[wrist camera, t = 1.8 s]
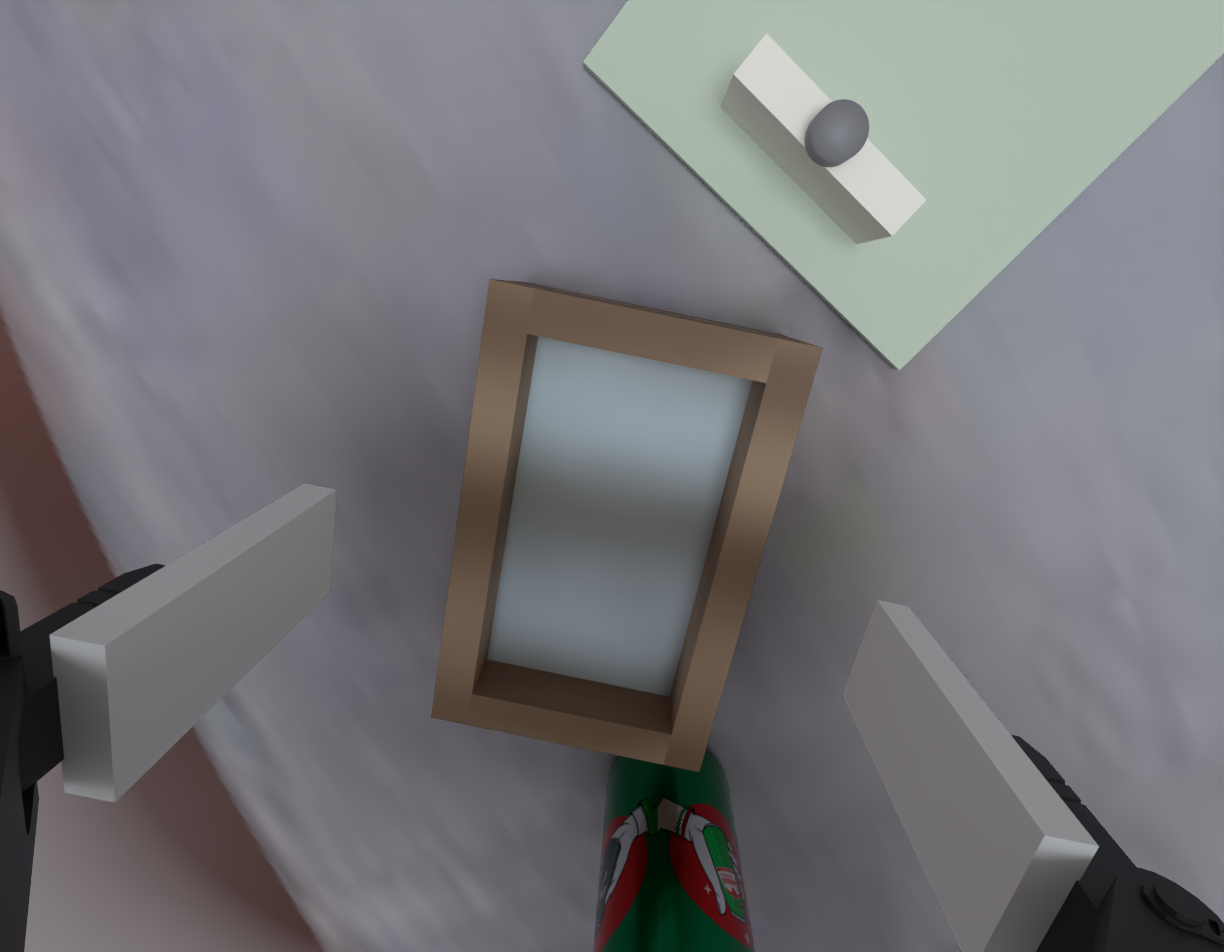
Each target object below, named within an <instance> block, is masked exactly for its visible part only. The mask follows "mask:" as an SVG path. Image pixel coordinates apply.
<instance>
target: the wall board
mask: <svg viewBox="0 0 1224 952" xmlns="http://www.w3.org/2000/svg"><path fill="white" fill-rule="evenodd" d="M1223 53H1224V0H628V1H627V3H626V4H625V5H624V7H623V8H622V9H621V11H620V12H619V14H618V15H617V16H616V18H615V19H614V20H613V22H612V23H611V24H610V26H609V27H608V28H607V30H606V31H605V33H604V34H603V35H602V37H601V38H600V39H599V41H598V42H597V43H596V45H595V46H594V47H593V49H592V50H591V52H590V53H589V54H588V56H587V57H586V58H585V60H584V61H583V63H584V67H585V68H586V69H587V70H588V71H589V72H590V73H591V74H592V75H593V76H594V77H595V78H596V79H597V80H598V81H599V82H600V83H601V84H602V85H603V86H604V87H605V88H606V89H607V90H608V91H609V92H610V93H611V94H612V95H613V96H614V97H616V98H617V99H618V100H619V101H620V102H621V103H622V104H623V105H624V106H625V107H626V108H627V109H628V110H629V111H630V112H631V113H632V114H633V115H634V116H635V117H636V118H637V119H638V120H639V121H640V122H641V123H642V124H643V125H644V126H645V127H646V128H647V129H648V130H649V131H650V132H651V133H652V134H654V135H655V136H656V137H657V138H658V139H659V140H660V141H661V142H662V143H663V144H664V145H665V146H666V147H667V148H668V149H669V150H670V151H671V152H672V153H673V154H674V155H675V156H676V157H677V158H678V159H679V160H680V161H681V162H682V163H683V164H684V165H685V166H686V167H687V168H688V169H689V170H690V171H691V172H693V173H694V174H695V175H696V176H697V177H698V178H699V179H700V180H701V181H702V182H703V183H704V184H705V185H706V186H707V187H708V188H709V189H710V190H711V191H712V192H713V193H714V194H715V195H716V196H717V197H718V198H719V199H720V200H721V201H722V202H723V203H724V204H725V205H726V206H727V207H728V208H729V209H730V210H732V211H733V212H734V213H735V214H736V215H737V216H738V217H739V218H740V219H741V220H742V221H743V222H744V223H745V224H746V225H747V226H748V227H749V228H750V229H751V230H752V231H753V232H754V233H755V234H756V235H757V236H758V237H759V238H760V239H761V240H762V241H763V242H764V243H765V244H766V245H767V246H768V247H770V248H771V249H772V250H773V251H774V252H775V253H776V254H777V255H778V256H779V257H780V258H781V259H782V260H783V261H784V262H785V263H786V264H787V265H788V266H789V267H790V268H791V269H792V270H793V271H794V272H795V273H796V274H797V275H798V276H799V277H800V278H801V279H802V280H803V281H804V282H805V283H806V284H807V285H809V286H810V287H811V288H812V289H813V290H814V291H815V292H816V293H817V294H818V295H819V296H820V297H821V298H822V299H823V300H824V301H825V302H826V303H827V304H828V305H829V306H830V307H831V308H832V309H833V310H834V311H835V312H836V313H837V314H838V315H839V316H840V317H841V318H842V319H843V320H844V321H845V322H846V323H848V324H849V325H850V326H851V327H852V328H853V329H854V330H855V331H856V332H857V333H858V334H859V335H860V336H861V337H862V338H863V339H864V340H865V341H866V342H867V343H868V344H869V345H870V346H871V347H872V348H873V349H874V350H875V351H876V352H877V353H878V354H879V355H880V356H881V357H882V358H883V359H884V360H886V361H887V362H888V363H889V364H890V365H891V366H892V367H893V368H894V369H897V370H900V369H901V368H902V367H903V366H904V365H905V364H907V363H908V362H909V361H910V360H911V359H912V358H913V357H914V356H915V355H916V354H917V353H918V352H919V351H920V350H921V349H922V348H923V347H924V346H925V345H926V344H927V343H928V342H929V341H930V340H931V339H932V338H933V337H934V336H935V335H936V334H937V333H938V332H939V331H940V330H941V329H942V328H943V327H944V326H945V325H946V324H947V323H948V322H949V321H950V320H951V319H953V318H954V317H955V316H956V315H957V314H958V313H959V312H960V311H961V310H962V309H963V308H964V307H965V306H966V305H967V304H968V303H969V302H970V301H971V300H972V299H973V298H974V297H975V296H976V295H977V294H978V293H979V292H980V291H981V290H982V289H983V288H984V287H985V286H986V285H987V284H988V283H989V282H990V281H991V280H992V279H993V278H994V277H995V276H996V275H998V274H999V273H1000V272H1001V271H1002V270H1003V269H1004V268H1005V267H1006V266H1007V265H1008V264H1009V263H1010V262H1011V261H1012V260H1013V259H1014V258H1015V257H1016V256H1017V255H1018V254H1019V253H1020V252H1021V251H1022V250H1023V249H1024V248H1025V247H1026V246H1027V245H1028V244H1029V243H1030V242H1031V241H1032V240H1033V239H1034V238H1035V237H1036V236H1037V235H1038V234H1039V233H1040V232H1041V231H1042V230H1044V229H1045V228H1046V227H1047V226H1048V225H1049V224H1050V223H1051V222H1052V221H1053V220H1054V219H1055V218H1056V217H1057V216H1058V215H1059V214H1060V213H1061V212H1062V211H1063V210H1064V209H1065V208H1066V207H1067V206H1068V205H1069V204H1070V203H1071V202H1072V201H1073V200H1074V199H1075V198H1076V197H1077V196H1078V195H1079V194H1080V193H1081V192H1082V191H1083V190H1084V189H1085V188H1086V187H1087V186H1089V185H1090V184H1091V183H1092V182H1093V181H1094V180H1095V179H1096V178H1097V177H1098V176H1099V175H1100V174H1101V173H1102V172H1103V171H1104V170H1105V169H1106V168H1107V167H1108V166H1109V165H1110V164H1111V163H1112V162H1113V161H1114V160H1115V159H1116V158H1117V157H1118V156H1119V155H1120V154H1121V153H1122V152H1123V151H1124V150H1125V149H1126V148H1127V147H1128V146H1129V145H1130V144H1131V143H1132V142H1133V141H1135V140H1136V139H1137V138H1138V137H1139V136H1140V135H1141V134H1142V133H1143V132H1144V131H1145V130H1146V129H1147V128H1148V127H1149V126H1150V125H1151V124H1152V123H1153V122H1154V121H1155V120H1156V119H1157V118H1158V117H1159V116H1160V115H1161V114H1162V113H1163V112H1164V111H1165V110H1166V109H1167V108H1168V107H1169V106H1170V105H1171V104H1172V103H1173V102H1174V101H1175V100H1176V99H1177V98H1178V97H1179V96H1181V95H1182V94H1183V93H1184V92H1185V91H1186V90H1187V89H1188V88H1189V87H1190V86H1191V85H1192V84H1193V83H1194V82H1195V81H1196V80H1197V79H1198V78H1199V77H1200V76H1201V75H1202V74H1203V73H1204V72H1205V71H1206V70H1207V69H1208V68H1209V67H1210V66H1211V65H1212V64H1213V63H1214V62H1215V61H1216V60H1217V59H1218V58H1219V57H1220V56H1221V55H1222V54H1223Z"/></svg>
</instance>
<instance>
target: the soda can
mask: <svg viewBox="0 0 1224 952" xmlns="http://www.w3.org/2000/svg"><path fill="white" fill-rule="evenodd" d="M593 952H755V948H754V942H753V936H752V930H751V924H750V918H749V911H748V905H747V899H746V893H745V887H744V881H743V874H742V868H741V862H740V856H739V850H738V844H737V838H736V831H735V825H734V819H733V813H732V807H731V801H730V794H729V788H728V782H727V779H726V775H725V773H724V771H723V769H722V767H721V766H720V765H719V763H718V762H717V761H716V760H715V759H714V758H713V757H712V756H711V755H710V754H709V753H707V752H706V751H705V754H704V758H703V761H702V764H701V768H700V771H699V772H697V771H692V770H687V769H682V768H677V767H672V766H667V765H662V764H657V763H653V762H648V761H643V760H638V759H633V758H628V757H623V756H621V757H620V758H619V759H618V760H617V761H616V763H615V764H614V766H613V767H612V770H611V772H610V774H609V778H608V782H607V794H606V806H605V818H604V830H603V842H602V854H601V866H600V878H599V890H598V902H597V914H596V926H595V938H594V950H593Z"/></svg>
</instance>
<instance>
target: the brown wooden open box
mask: <svg viewBox="0 0 1224 952" xmlns="http://www.w3.org/2000/svg"><path fill="white" fill-rule="evenodd" d="M821 352H822V348H821V347H818V346H815V345H812V344H809V343H806V342H803V341H799V340H796V339H793V338H790V337H787V336H784V335H779V334H774V333H769V332H764V331H760V330H755V329H750V328H745V327H740V326H735V325H731V324H726V323H721V322H716V321H711V320H706V319H701V318H697V317H692V316H687V315H682V314H677V313H672V312H667V311H663V310H658V309H653V308H648V307H643V306H638V305H633V304H629V303H624V302H619V301H614V300H609V299H604V298H599V297H595V296H590V295H585V294H580V293H575V292H570V291H565V290H561V289H556V288H551V287H546V286H541V285H536V284H531V283H527V282H517V281H504V280H492V279H490V281H489V288H488V296H487V303H486V311H485V318H484V326H483V333H482V340H481V348H480V355H479V363H478V370H477V378H476V385H475V393H474V400H473V408H472V415H471V423H470V430H469V438H468V445H467V453H466V460H465V468H464V475H463V483H462V490H461V498H460V505H459V513H458V520H457V528H456V535H455V543H454V550H453V558H452V565H451V573H450V580H449V588H448V595H447V603H446V610H445V618H444V625H443V633H442V640H441V648H440V655H439V662H438V670H437V677H436V685H435V692H434V700H433V707H432V715H431V717H432V718H437V719H442V720H447V721H452V722H456V723H461V724H466V725H471V726H476V727H481V728H486V729H491V730H496V731H501V732H505V733H510V734H515V735H520V736H525V737H530V738H535V739H540V740H545V741H550V742H554V743H559V744H564V745H569V746H574V747H579V748H584V749H589V750H594V751H599V752H604V753H608V754H613V755H618V756H623V757H628V758H633V759H638V760H643V761H648V762H653V763H657V764H662V765H667V766H672V767H677V768H682V769H687V770H692V771H697V772H699V771H700V768H701V764H702V761H703V758H704V754H705V751H706V747H707V744H708V740H709V737H710V734H711V730H712V727H713V723H714V720H715V716H716V713H717V709H718V706H719V703H720V699H721V696H722V692H723V689H724V685H725V682H726V678H727V675H728V672H729V668H730V665H731V661H732V658H733V654H734V651H735V648H736V644H737V641H738V637H739V634H740V630H741V627H742V623H743V620H744V617H745V613H746V610H747V606H748V603H749V599H750V596H751V592H752V589H753V586H754V582H755V579H756V575H757V572H758V568H759V565H760V562H761V558H762V555H763V551H764V548H765V544H766V541H767V537H768V534H769V531H770V527H771V524H772V520H773V517H774V513H775V510H776V506H777V503H778V500H779V496H780V493H781V489H782V486H783V482H784V479H785V476H786V472H787V469H788V465H789V462H790V458H791V455H792V451H793V448H794V445H795V441H796V438H797V434H798V431H799V427H800V424H801V421H802V417H803V414H804V410H805V407H806V403H807V400H808V396H809V393H810V390H811V386H812V383H813V379H814V376H815V372H816V369H817V365H818V362H819V359H820V355H821Z"/></svg>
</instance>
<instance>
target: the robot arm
mask: <svg viewBox="0 0 1224 952" xmlns="http://www.w3.org/2000/svg"><path fill="white" fill-rule="evenodd" d="M335 503H336V490H335V489H330V488H325V487H320V486H315V485H311V484H306V483H304V484H303V485H301V486H299V487H298V488H296V489H294V490H292V491H291V492H289V493H287V494H286V495H284V496H282V497H281V498H279V499H277V500H276V501H274V502H272V503H271V504H269V505H267V506H266V507H264V508H262V509H260V510H259V511H257V512H255V513H254V514H252V515H250V516H249V517H247V518H245V519H244V520H242V521H240V522H239V523H237V524H235V525H234V526H232V527H230V528H228V529H227V530H225V531H223V532H222V533H220V534H218V535H217V536H215V537H213V538H212V539H210V540H208V541H207V542H205V543H203V544H202V545H200V546H198V547H196V548H195V549H193V550H191V551H190V552H188V553H186V554H185V555H183V556H181V557H180V558H178V559H176V560H175V561H173V562H171V563H170V564H168V565H166V566H165V565H160V564H153V565H150V566H147V567H144V568H140V569H137V570H134V571H131V572H128V573H124V574H122V575H120V576H119V577H117V578H115V579H113V580H112V581H110V582H108V583H106V584H105V585H103V586H101V587H99V588H98V591H92V592H90V593H88V594H87V595H85V596H83V597H81V598H79V599H78V600H77V602H76V603H71V604H69V605H67V606H65V607H63V608H62V609H60V610H58V611H56V612H55V613H53V614H51V615H49V616H47V617H46V618H44V619H42V620H40V621H39V622H37V623H35V624H33V625H31V626H30V627H28V628H26V629H24V630H22V631H21V632H20V626H19V617H18V608H17V603H16V601H15V598H14V596H12V595H9V594H7V593H5V592H3V591H0V952H24V947H25V935H26V925H27V916H28V904H29V895H30V885H31V875H32V863H33V854H34V843H35V834H36V823H37V813H38V803H39V795H38V787H37V781H38V780H39V779H40V778H41V777H43V776H44V775H45V774H46V773H48V772H49V771H50V770H51V769H52V768H54V767H55V766H56V765H57V764H58V763H60V762H61V761H62V771H63V780H64V792H65V793H71V794H75V795H80V796H85V797H90V798H95V799H100V800H105V801H110V802H116V801H117V800H118V799H119V798H120V797H121V796H122V795H123V794H124V793H125V792H126V791H127V790H128V789H129V788H130V787H131V786H132V785H133V784H134V783H135V782H136V781H137V780H138V779H139V778H140V777H141V776H142V775H143V774H144V773H146V772H147V771H148V769H150V768H151V767H152V766H153V765H154V764H155V763H156V761H158V760H159V759H160V758H161V757H162V756H163V755H164V754H165V753H166V752H167V751H168V750H169V749H170V748H171V747H172V746H173V745H174V744H175V743H176V742H177V741H178V740H179V739H180V738H181V737H182V736H183V735H184V734H185V733H186V732H187V731H188V730H189V729H190V728H191V727H192V726H193V725H194V724H195V723H197V722H198V721H199V720H200V719H201V718H202V717H203V716H204V715H205V714H206V713H207V712H208V711H209V710H210V709H211V708H212V707H213V706H214V705H215V704H216V703H217V702H218V701H219V700H220V699H221V698H222V697H223V696H224V695H225V694H226V693H227V692H228V691H229V690H230V689H231V688H232V687H233V686H234V685H235V684H236V683H237V682H238V681H239V680H240V679H241V678H242V677H243V676H244V675H245V674H246V673H247V672H249V671H250V670H251V669H252V668H253V667H254V666H255V665H256V664H257V663H258V662H259V661H260V660H261V659H262V658H263V657H264V656H265V655H266V654H267V653H268V652H269V651H270V650H271V649H272V648H273V647H274V646H275V645H276V644H277V643H278V642H279V641H280V640H281V639H282V638H283V637H284V636H285V635H286V634H287V633H288V632H289V631H290V630H291V629H292V628H293V627H294V626H295V625H296V624H297V623H298V622H299V621H300V620H302V619H303V618H304V617H305V616H306V615H307V614H308V613H309V612H310V611H311V610H312V609H313V608H314V607H315V606H316V605H317V604H318V603H319V602H320V601H321V600H322V599H323V598H324V597H325V596H326V595H327V594H328V593H329V592H330V583H331V567H332V551H333V535H334V519H335ZM842 697H843V699H844V701H845V703H846V705H847V708H848V710H849V712H850V714H851V716H852V718H853V721H854V723H855V725H856V727H857V729H858V731H859V733H860V736H861V738H862V740H863V742H864V744H865V746H866V749H867V751H868V753H869V755H870V757H871V759H872V761H873V764H874V766H875V768H876V770H877V772H878V774H879V777H880V779H881V781H882V783H883V785H884V787H885V789H886V792H887V794H888V796H889V798H890V800H891V802H892V804H893V807H894V809H895V811H896V813H897V815H898V817H899V820H900V822H901V824H902V826H903V828H904V830H905V832H906V835H907V837H908V839H909V841H910V843H911V845H912V848H913V850H914V852H915V854H916V856H917V858H918V860H919V863H920V865H921V867H922V869H923V871H924V873H925V876H926V878H927V880H928V882H929V884H930V886H931V888H932V891H933V893H934V895H935V897H936V899H937V901H938V904H939V906H940V908H941V910H942V912H943V914H944V916H945V919H946V921H947V923H948V925H949V927H950V929H951V932H952V934H953V936H954V938H955V940H956V942H957V944H958V947H959V949H960V951H961V952H1224V923H1223V922H1222V921H1221V919H1220V918H1219V917H1218V916H1217V915H1216V914H1215V913H1214V912H1213V911H1212V910H1210V909H1209V908H1208V907H1207V906H1206V905H1205V904H1204V903H1203V902H1202V901H1200V900H1199V899H1198V898H1197V897H1195V896H1194V895H1192V894H1191V893H1190V892H1188V891H1187V890H1185V889H1184V888H1182V887H1181V886H1179V885H1178V884H1176V883H1175V882H1173V881H1171V880H1169V879H1167V878H1165V877H1163V876H1161V875H1159V874H1157V873H1155V872H1152V871H1148V870H1145V869H1141V868H1138V867H1136V866H1135V865H1134V864H1133V862H1132V861H1131V860H1130V859H1129V858H1128V856H1127V855H1126V854H1125V853H1124V852H1123V850H1122V849H1121V848H1120V847H1119V846H1118V844H1117V843H1116V842H1115V841H1114V840H1113V838H1112V837H1111V836H1110V835H1109V834H1108V832H1107V831H1106V830H1105V829H1104V828H1103V826H1102V825H1101V824H1100V823H1099V822H1098V820H1097V819H1096V818H1095V817H1094V815H1093V814H1092V813H1091V812H1090V811H1089V809H1088V808H1087V807H1086V806H1085V805H1082V804H1081V800H1080V799H1079V797H1078V796H1077V795H1076V794H1075V793H1074V791H1073V790H1072V789H1071V788H1070V787H1069V786H1067V785H1065V781H1064V779H1063V778H1062V777H1061V776H1060V775H1059V773H1058V772H1057V771H1056V770H1055V768H1054V767H1053V766H1052V765H1051V764H1050V762H1049V761H1048V760H1047V759H1046V758H1045V757H1044V756H1043V755H1041V754H1040V753H1039V752H1038V751H1036V750H1035V749H1034V748H1033V747H1031V746H1030V745H1029V744H1028V743H1027V742H1025V741H1024V740H1023V739H1022V738H1020V737H1019V736H1014V735H1010V734H1009V732H1008V731H1007V730H1006V729H1005V727H1004V726H1003V725H1002V723H1001V722H1000V721H999V720H998V718H997V717H996V716H995V715H994V713H993V712H992V711H991V710H990V708H989V707H988V706H987V705H986V703H985V702H984V701H983V700H982V698H981V697H980V696H979V695H978V693H977V692H976V691H975V689H974V688H973V687H972V686H971V684H970V683H969V682H968V681H967V679H966V678H965V677H964V676H963V674H962V673H961V672H960V671H959V669H958V668H957V667H956V666H955V664H954V663H953V662H952V661H951V659H950V658H949V657H948V656H947V654H946V653H945V652H944V650H943V649H942V648H941V647H940V645H939V644H938V643H937V642H936V640H935V639H934V638H933V637H932V635H931V634H930V633H929V632H928V630H927V629H926V628H925V627H924V625H923V624H922V623H921V622H920V620H919V619H918V618H917V616H916V615H915V614H914V613H913V611H912V610H911V609H910V608H909V606H905V605H900V604H895V603H890V602H885V601H880V600H877V601H876V604H875V606H874V609H873V612H872V615H871V617H870V620H869V623H868V625H867V628H866V631H865V634H864V636H863V639H862V642H861V644H860V647H859V650H858V653H857V655H856V658H855V661H854V663H853V666H852V669H851V672H850V674H849V677H848V680H847V682H846V685H845V688H844V691H843V693H842Z"/></svg>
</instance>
